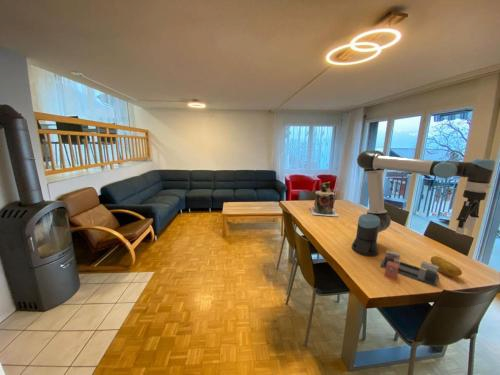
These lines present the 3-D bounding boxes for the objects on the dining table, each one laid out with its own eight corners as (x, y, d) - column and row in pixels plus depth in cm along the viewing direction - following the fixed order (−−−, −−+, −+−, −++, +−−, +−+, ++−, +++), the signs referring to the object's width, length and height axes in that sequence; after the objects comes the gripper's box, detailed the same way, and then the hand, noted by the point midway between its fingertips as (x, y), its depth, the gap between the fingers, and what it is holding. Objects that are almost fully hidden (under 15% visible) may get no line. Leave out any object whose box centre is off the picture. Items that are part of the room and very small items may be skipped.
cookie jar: (309, 208, 223) (311, 179, 216) (332, 209, 220) (336, 180, 213) (312, 215, 199) (315, 183, 192) (339, 217, 196) (343, 184, 189)
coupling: (394, 281, 104) (397, 269, 102) (383, 277, 107) (385, 265, 106) (397, 275, 109) (399, 263, 108) (386, 271, 113) (389, 259, 111)
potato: (450, 281, 105) (453, 268, 104) (425, 265, 119) (427, 254, 118) (463, 281, 106) (466, 268, 104) (437, 265, 120) (439, 253, 118)
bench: (380, 266, 117) (382, 253, 115) (385, 258, 125) (387, 246, 123) (436, 287, 100) (440, 272, 99) (438, 276, 109) (441, 262, 107)
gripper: (477, 195, 92) (465, 238, 96) (494, 190, 104) (482, 229, 108) (455, 191, 98) (444, 232, 103) (473, 187, 110) (463, 224, 115)
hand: (464, 231), depth 106 cm, fingers open, 13 cm apart
